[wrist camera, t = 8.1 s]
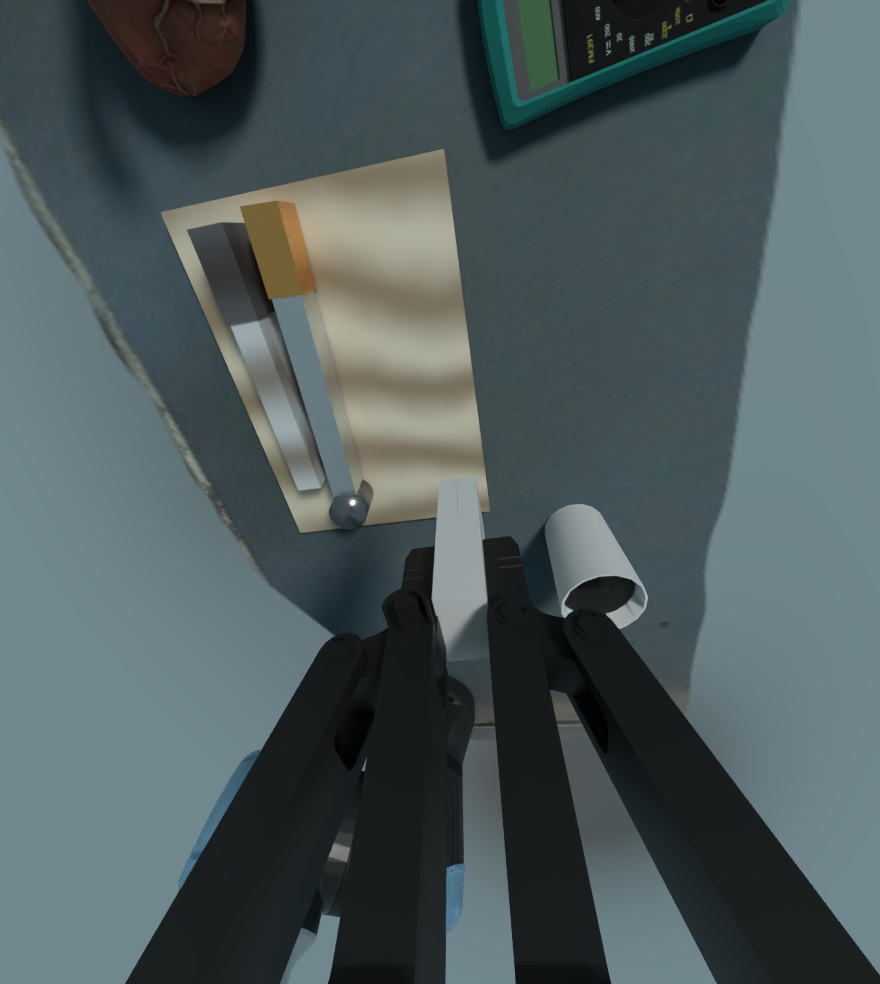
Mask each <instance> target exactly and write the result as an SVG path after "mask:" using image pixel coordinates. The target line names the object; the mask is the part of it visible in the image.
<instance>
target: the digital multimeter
mask: <svg viewBox="0 0 880 984" xmlns="http://www.w3.org/2000/svg"><path fill="white" fill-rule="evenodd" d="M765 1H766V2H765ZM790 1H791V0H673V1H672V0H477V5H478V12H479V19H480V27H481V34H482V40H483V45H484V51H485V56H486V62H487V67H488V72H489V76H490V81H491V85H492V89H493V94H494V98H495V102H496V106H497V110H498V114H499V118H500V122H501V124H502V127H503V128H504V129H506V130H512V129H514V128H517V127H519V126H521V125H523V124H525V123H527V122H529V121H532V120H534V119H536V118H538V117H540V116H542V115H545V114H547V113H549V112H551V111H553V110H555V109H557V108H560V107H562V106H564V105H566V104H568V103H570V102H572V101H575V100H577V99H579V98H581V97H584V96H586V95H588V94H591V93H593V92H595V91H598V90H600V89H602V88H605V87H607V86H610V85H612V84H614V83H617V82H619V81H621V80H624V79H626V78H628V77H631V76H633V75H636V74H638V73H640V72H643V71H646V70H648V69H651V68H654V67H656V66H659V65H662V64H664V63H667V62H670V61H673V60H675V59H678V58H681V57H683V56H686V55H689V54H691V53H694V52H697V51H699V50H702V49H705V48H708V47H711V46H714V45H717V44H720V43H722V42H725V41H728V40H731V39H734V38H737V37H740V36H743V35H746V34H749V33H752V32H755V31H758V30H759V29H761V28H762V27H764V26H765V25H767V24H768V23H770V22H771V21H773V20H774V19H776V18H777V17H779V16H780V15H782V14H783V13H784V12H785V11H786V9H787V8H788V6H789V4H790ZM760 3H761V4H760ZM669 4H670V5H669ZM755 5H756V6H755ZM753 6H754V7H753ZM750 7H751V8H750ZM748 8H749V9H748ZM743 10H744V11H743ZM741 11H742V12H741ZM738 12H739V13H738ZM736 13H737V14H736ZM731 15H732V16H731ZM729 16H730V17H729ZM726 17H727V18H726ZM724 18H725V19H724ZM719 20H720V21H719ZM648 21H649V22H648ZM717 21H718V22H717ZM714 22H715V23H714ZM712 23H713V24H712ZM709 24H710V25H709ZM707 25H708V26H707ZM702 27H703V28H702ZM700 28H701V29H700ZM697 29H698V30H697ZM695 30H696V31H695ZM690 32H691V33H690ZM685 34H686V35H685ZM678 37H679V38H678ZM673 39H674V40H673ZM668 41H669V42H668ZM656 46H657V47H656ZM644 51H645V52H644ZM639 53H640V54H639ZM632 56H633V57H632ZM627 58H628V59H627ZM620 61H621V62H620ZM615 63H616V64H615ZM608 66H609V67H608ZM603 68H604V69H603ZM598 70H599V71H598ZM596 71H597V72H596ZM591 73H592V74H591ZM586 75H587V76H586ZM579 78H580V79H579ZM574 80H575V81H574Z"/></svg>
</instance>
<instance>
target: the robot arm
mask: <svg viewBox="0 0 880 984" xmlns="http://www.w3.org/2000/svg"><path fill="white" fill-rule="evenodd" d="M382 609H383V612H384V615H385V618H386V621H387V623H388V626H389V627H388V628H387V629H385V630H384V631H382V632H380V633H378V634H376V635H374V636H371V637H369V638H366V639H363V640H361V639H360V638H359V637H358V636H357V635H355V634H352V633H345V634H340V635H337V636H335V637H333V638H331V639H330V640H329V641H327V642H326V643H325V644H324V645H323V647H322V648H321V649H320V651H319V652H318V654H317V656H316V657H315V659H314V661H313V663H312V664H311V666H310V668H309V669H308V671H307V673H306V675H305V676H304V678H303V680H302V681H301V683H300V685H299V687H298V688H297V690H296V692H295V693H294V695H293V697H292V699H291V700H290V702H289V704H288V706H287V707H286V709H285V711H284V712H283V714H282V716H281V717H280V719H279V721H278V723H277V724H276V726H275V728H274V729H273V731H272V733H271V735H270V736H269V738H268V740H267V741H266V743H265V745H264V747H263V748H262V750H257V751H254V752H252V753H250V754H249V755H247V756H246V757H245V758H244V759H243V760H242V761H241V763H240V764H239V766H238V767H237V769H236V770H235V772H234V773H233V775H232V777H231V778H230V780H229V782H228V783H227V785H226V787H225V789H224V791H223V792H222V794H221V796H220V797H219V799H218V801H217V803H216V805H215V806H214V808H213V810H212V812H211V814H210V816H209V818H208V820H207V822H206V824H205V825H204V828H203V829H202V831H201V833H200V836H199V838H198V840H197V843H196V846H195V847H194V849H193V851H192V853H191V856H190V857H189V859H188V860H187V862H186V865H185V867H184V869H183V872H182V874H181V877H180V879H179V884H178V886H179V890H180V891H179V892H178V894H177V896H176V897H175V899H174V901H173V903H172V904H171V906H170V908H169V910H168V911H167V913H166V915H165V916H164V918H163V920H162V921H161V923H160V925H159V927H158V928H157V930H156V932H155V933H154V935H153V937H152V939H151V940H150V942H149V944H148V945H147V947H146V949H145V951H144V952H143V954H142V956H141V957H140V959H139V961H138V963H137V964H136V966H135V968H134V969H133V971H132V973H131V975H130V977H129V978H128V980H127V981H126V983H125V984H288V981H289V977H290V973H291V970H292V968H293V967H294V965H295V963H296V962H297V961H298V960H299V959H300V958H301V957H302V955H303V954H304V953H305V952H306V951H307V950H308V949H309V948H310V947H311V946H312V945H313V944H314V943H315V941H316V936H317V932H318V927H319V923H320V918H321V914H323V915H330V916H336V917H340V922H339V929H338V934H337V941H336V946H335V952H334V959H333V964H332V969H331V975H330V979H329V982H328V984H445V969H446V934H447V933H448V932H449V931H451V930H452V929H453V928H454V927H455V926H456V925H457V923H458V921H459V919H460V917H461V913H462V906H463V881H464V872H465V864H464V834H463V779H462V778H463V777H462V776H463V772H462V771H463V770H462V768H463V761H464V757H465V753H466V750H467V747H468V743H469V740H470V736H471V733H472V729H473V726H474V721H475V703H474V698H473V695H472V694H471V692H470V691H469V689H468V688H467V687H466V686H464V685H463V684H462V683H461V682H459V681H457V680H455V679H454V678H451V677H449V676H448V673H447V669H446V655H447V658H448V662H450V661H461V660H472V659H484V658H490V667H491V679H492V691H493V704H494V716H495V729H496V741H497V753H498V766H499V778H500V790H501V803H502V816H503V828H504V839H505V851H506V852H505V853H506V865H507V878H508V891H509V903H510V915H511V928H512V940H513V953H514V965H515V980H516V984H611V981H610V977H609V972H608V968H607V964H606V958H605V953H604V949H603V944H602V939H601V934H600V930H599V925H598V919H597V915H596V910H595V905H594V900H593V895H592V891H591V886H590V881H589V876H588V871H587V867H586V862H585V857H584V852H583V847H582V842H581V838H580V833H579V828H578V824H577V818H576V814H575V809H574V804H573V799H572V794H571V790H570V785H569V780H568V775H567V770H566V765H565V761H564V756H563V751H562V746H561V741H560V737H559V732H558V727H557V722H556V717H555V712H554V708H553V703H552V698H551V693H550V690H555V691H559V692H563V693H567V696H568V697H569V699H570V701H571V703H572V705H573V707H574V709H575V711H576V713H577V715H578V717H579V719H580V721H581V723H582V724H583V726H584V728H585V730H586V732H587V734H588V736H589V738H590V740H591V742H592V743H593V746H594V748H595V749H596V751H597V753H598V755H599V757H600V759H601V761H602V763H603V765H604V766H605V769H606V771H607V772H608V774H609V776H610V778H611V780H612V782H613V784H614V786H615V788H616V790H617V792H618V794H619V796H620V798H621V800H622V801H623V803H624V805H625V807H626V809H627V811H628V813H629V815H630V817H631V818H632V821H633V823H634V825H635V827H636V828H637V830H638V832H639V834H640V836H641V838H642V840H643V842H644V844H645V846H646V848H647V850H648V852H649V854H650V855H651V857H652V859H653V861H654V863H655V865H656V867H657V869H658V871H659V873H660V875H661V877H662V878H663V881H664V882H665V884H666V886H667V888H668V890H669V892H670V894H671V896H672V898H673V900H674V901H675V904H676V905H677V907H678V909H679V911H680V913H681V915H682V917H683V919H684V921H685V923H686V925H687V927H688V929H689V931H690V932H691V934H692V936H693V938H694V940H695V942H696V944H697V946H698V948H699V950H700V952H701V954H702V956H703V958H704V960H705V961H706V963H707V965H708V967H709V969H710V971H711V973H712V975H713V977H714V979H715V981H716V983H717V984H880V975H879V974H878V972H877V971H876V970H875V968H874V967H873V966H872V964H871V963H870V962H869V961H868V959H867V958H866V957H865V955H864V954H863V953H862V951H861V950H860V949H859V947H858V946H857V945H856V943H855V942H854V941H853V939H852V938H851V937H850V935H849V934H848V933H847V931H846V930H845V929H844V928H843V926H842V925H841V923H840V922H839V921H838V919H837V918H836V917H835V915H834V914H833V913H832V911H831V910H830V909H829V907H828V906H827V905H826V903H825V902H824V901H823V900H822V898H821V897H820V895H819V894H818V893H817V891H816V890H815V889H814V888H813V886H812V885H811V884H810V882H809V881H808V880H807V878H806V877H805V876H804V874H803V873H802V872H801V870H800V869H799V868H798V866H797V865H796V864H795V862H794V861H793V860H792V858H791V857H790V856H789V854H788V853H787V852H786V850H785V849H784V848H783V846H782V845H781V844H780V842H779V841H778V840H777V838H776V837H775V836H774V834H773V833H772V832H771V831H770V829H769V828H768V826H767V825H766V824H765V822H764V821H763V820H762V818H761V817H760V816H759V814H758V813H757V812H756V810H755V809H754V808H753V806H752V805H751V804H750V802H749V801H748V800H747V799H746V797H745V796H744V795H743V793H742V792H741V791H740V789H739V788H738V787H737V785H736V784H735V783H734V781H733V780H732V779H731V777H730V776H729V775H728V773H727V772H726V771H725V769H724V768H723V767H722V765H721V764H720V763H719V761H718V760H717V759H716V757H715V756H714V755H713V753H712V752H711V751H710V749H709V748H708V747H707V745H706V744H705V743H704V741H703V740H702V739H701V737H700V736H699V735H698V733H696V731H695V730H694V728H693V727H692V725H691V724H690V723H689V722H688V720H687V719H686V718H685V716H684V715H683V714H682V712H681V711H680V710H679V708H678V707H677V706H676V704H675V703H674V702H673V700H672V699H671V698H670V696H669V695H668V694H667V692H666V691H665V690H664V688H663V687H662V686H661V684H660V683H659V682H658V680H657V679H656V678H655V676H654V675H653V674H652V672H651V671H650V670H649V668H648V667H647V666H646V664H645V663H644V662H643V660H642V659H641V658H640V656H639V655H638V654H637V652H636V651H635V650H634V648H633V647H632V646H631V645H630V643H629V642H628V641H627V639H626V638H625V637H624V635H623V634H622V633H621V631H620V630H619V629H618V627H617V626H616V625H615V623H614V622H613V621H612V620H611V619H610V618H609V617H608V616H607V615H606V614H604V613H602V612H600V611H598V610H595V609H588V608H583V609H576V610H574V611H572V612H570V613H569V614H568V615H567V616H566V617H565V618H562V617H556V616H551V615H548V614H545V613H543V612H541V611H539V610H538V609H537V608H535V607H534V605H533V604H532V603H531V601H530V598H529V595H528V590H527V585H526V580H525V575H524V570H523V566H522V561H521V556H520V551H519V546H518V544H517V543H516V542H515V541H514V540H513V539H512V537H511V536H507V537H499V538H491V539H485V536H484V527H483V521H482V514H481V508H480V501H479V495H478V488H477V482H476V476H468V477H461V478H454V479H447V480H440V481H439V494H438V509H437V525H436V541H435V546H434V547H426V548H417V549H412V551H411V552H410V554H409V555H408V557H407V558H406V560H405V567H404V574H403V581H402V587H401V589H399V590H397V591H395V592H393V593H392V594H390V595H389V596H388V597H387V598H386V599H385V601H384V603H383V605H382ZM366 758H367V761H366V767H365V772H364V771H362V768H363V765H364V763H365V760H366Z"/></svg>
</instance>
